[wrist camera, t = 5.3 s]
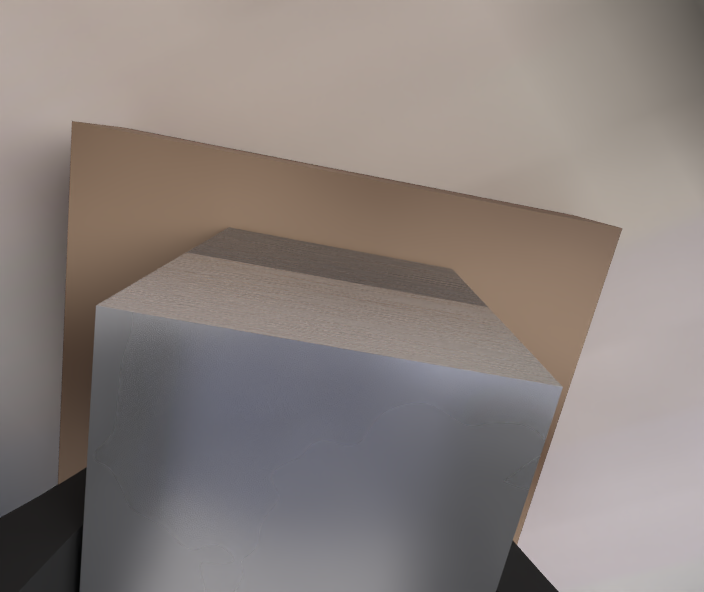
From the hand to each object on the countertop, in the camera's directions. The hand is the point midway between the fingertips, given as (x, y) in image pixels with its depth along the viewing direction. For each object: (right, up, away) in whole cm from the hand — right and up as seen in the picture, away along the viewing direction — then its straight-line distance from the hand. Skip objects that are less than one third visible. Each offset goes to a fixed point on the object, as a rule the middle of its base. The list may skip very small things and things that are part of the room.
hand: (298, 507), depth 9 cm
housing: (0, +1, +3) cm, 3 cm away
